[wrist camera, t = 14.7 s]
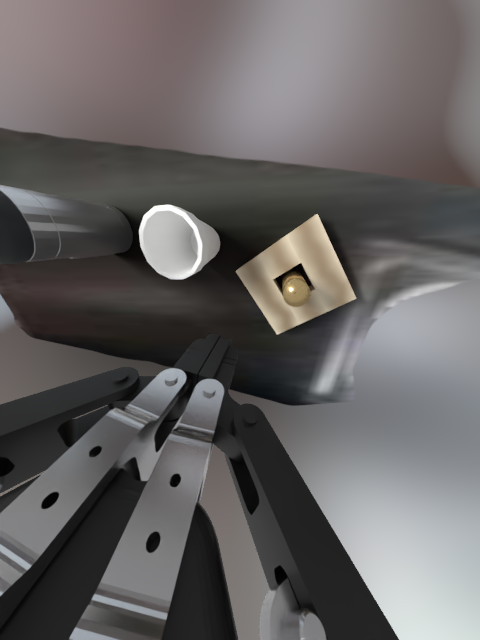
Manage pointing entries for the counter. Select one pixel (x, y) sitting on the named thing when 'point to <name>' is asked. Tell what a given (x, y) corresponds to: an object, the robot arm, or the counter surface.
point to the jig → (317, 262)
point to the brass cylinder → (295, 289)
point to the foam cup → (176, 241)
